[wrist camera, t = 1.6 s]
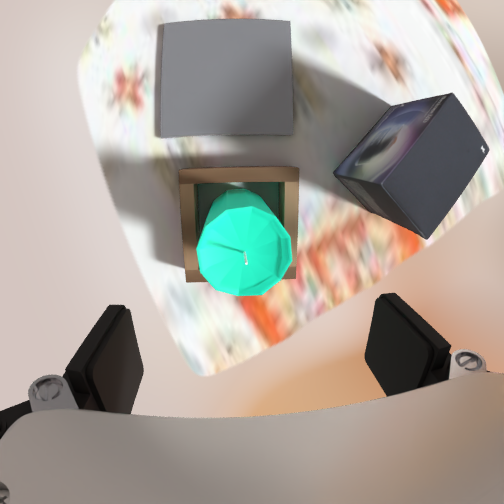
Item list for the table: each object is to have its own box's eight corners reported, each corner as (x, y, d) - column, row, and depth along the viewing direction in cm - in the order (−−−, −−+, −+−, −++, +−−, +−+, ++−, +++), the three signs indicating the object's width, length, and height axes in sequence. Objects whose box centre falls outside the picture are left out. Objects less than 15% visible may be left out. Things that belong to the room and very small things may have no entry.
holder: (184, 168, 26) (178, 170, 24) (291, 166, 27) (299, 167, 24) (190, 270, 30) (186, 282, 27) (289, 266, 30) (295, 278, 27)
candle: (194, 225, 28) (173, 272, 17) (233, 174, 27) (237, 188, 16) (244, 261, 30) (254, 326, 18) (283, 214, 28) (319, 254, 17)
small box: (389, 101, 25) (453, 86, 16) (426, 145, 27) (493, 150, 17) (328, 171, 28) (379, 182, 18) (371, 215, 29) (429, 244, 19)
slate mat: (165, 25, 22) (164, 23, 21) (289, 23, 22) (290, 21, 22) (162, 138, 25) (160, 138, 25) (291, 135, 26) (293, 134, 26)
